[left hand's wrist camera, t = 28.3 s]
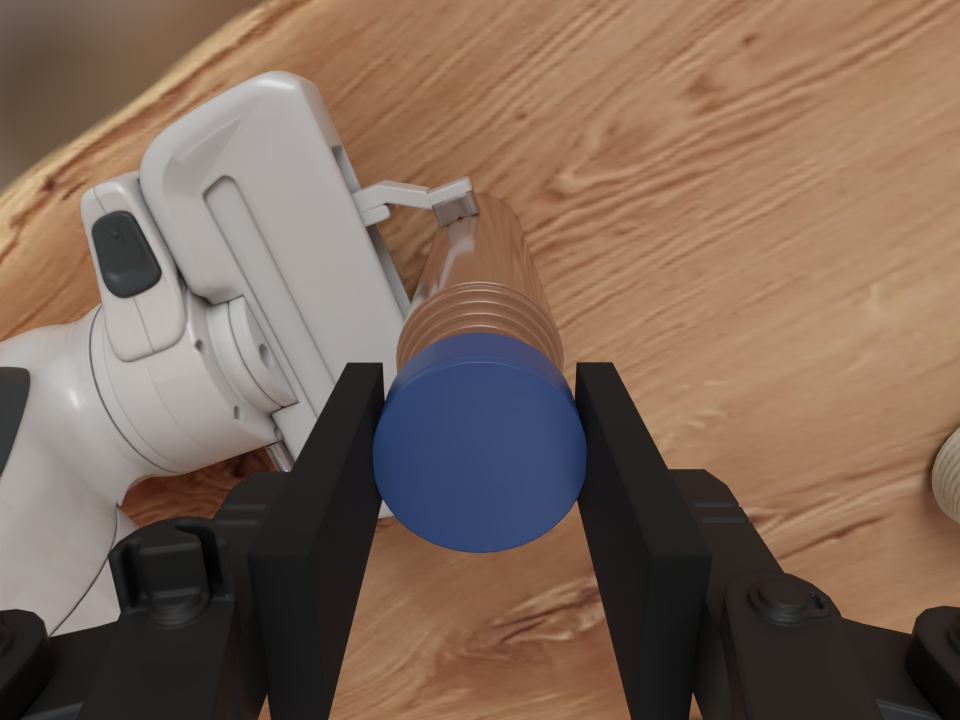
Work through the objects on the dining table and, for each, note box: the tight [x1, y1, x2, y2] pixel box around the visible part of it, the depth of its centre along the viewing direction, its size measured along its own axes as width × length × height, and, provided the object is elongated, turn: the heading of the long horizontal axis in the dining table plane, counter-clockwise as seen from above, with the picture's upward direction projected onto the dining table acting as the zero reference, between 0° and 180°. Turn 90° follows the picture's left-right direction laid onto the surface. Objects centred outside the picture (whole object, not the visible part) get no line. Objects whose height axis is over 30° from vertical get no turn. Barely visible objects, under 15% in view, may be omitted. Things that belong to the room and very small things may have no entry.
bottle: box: [396, 195, 564, 374], centre depth 24 cm, size 4×4×23 cm
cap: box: [373, 332, 587, 553], centre depth 14 cm, size 4×4×2 cm
